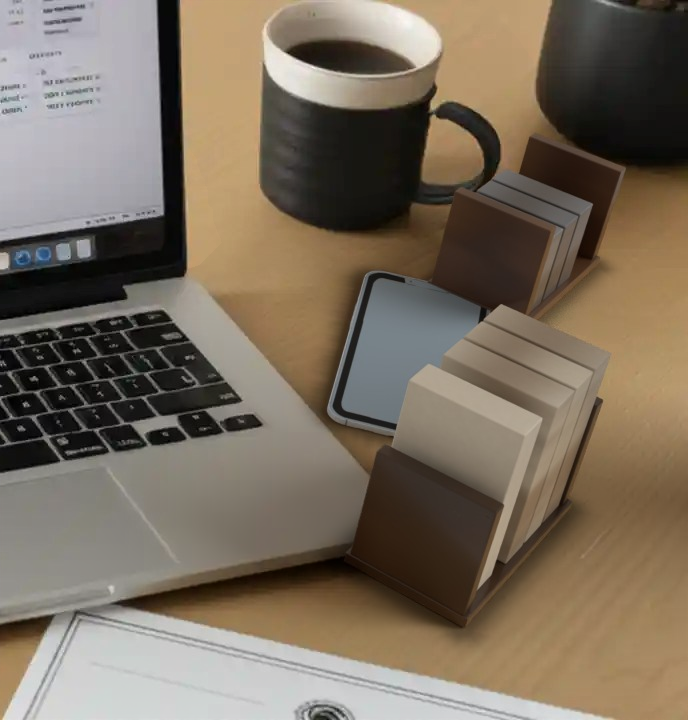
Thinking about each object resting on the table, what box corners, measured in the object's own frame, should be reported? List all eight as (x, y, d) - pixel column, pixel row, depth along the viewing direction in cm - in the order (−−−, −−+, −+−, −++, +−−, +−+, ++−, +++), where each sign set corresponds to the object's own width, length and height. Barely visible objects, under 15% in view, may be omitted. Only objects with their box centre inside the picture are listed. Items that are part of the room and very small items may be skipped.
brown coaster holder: (597, 265, 100) (629, 168, 96) (523, 333, 93) (554, 232, 89) (504, 225, 103) (531, 130, 99) (425, 289, 96) (451, 189, 92)
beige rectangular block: (491, 575, 75) (543, 417, 70) (473, 595, 74) (525, 436, 69) (385, 518, 78) (428, 362, 72) (366, 536, 76) (408, 379, 71)
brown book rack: (569, 509, 80) (627, 348, 75) (464, 628, 73) (519, 459, 67) (455, 452, 83) (502, 293, 78) (342, 561, 76) (386, 393, 70)
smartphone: (324, 414, 84) (366, 267, 96) (321, 427, 85) (363, 279, 97) (469, 450, 83) (494, 296, 95) (465, 463, 84) (490, 308, 95)
